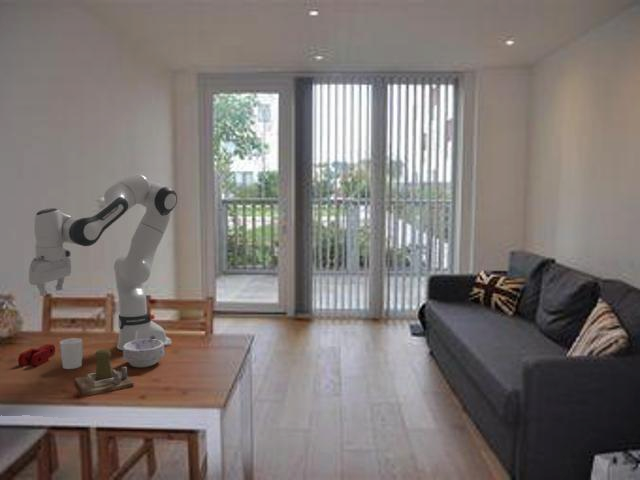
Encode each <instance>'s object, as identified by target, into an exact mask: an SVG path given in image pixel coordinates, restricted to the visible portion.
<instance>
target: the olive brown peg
mask: <svg viewBox="0 0 640 480" xmlns="http://www.w3.org/2000/svg"><path fill="white" fill-rule="evenodd" d="M94 355H95V356H94V357H95V359H96V370H95V373H96V377H95V381H99V380H104V379H110V378H113V374H112V370H113V369H112V366H111V365H112V364H111V357H112V351H111V350H110V349H107V348H104V349H99V350H97V351H96V352H95V354H94Z"/></svg>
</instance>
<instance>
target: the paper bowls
mask: <svg viewBox="0 0 640 480" xmlns="http://www.w3.org/2000/svg"><path fill="white" fill-rule="evenodd" d="M122 354H123V355H122V356H123V358H122V359H123V361H125V362H127V363H128V364H130V366H132V367H134V368H149V367H152V366H154V365H156V364H157V363H158V362H159V360H160V359H161V358H162V357H164V356H165V346H164V343H163V342H162V341H161V340H157V339H140V340H135V341H131V342H128V343H126V344H125V345H124V346H123V350H122Z"/></svg>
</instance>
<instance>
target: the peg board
mask: <svg viewBox="0 0 640 480" xmlns="http://www.w3.org/2000/svg"><path fill="white" fill-rule="evenodd" d="M112 374H113V378H110V379H104V380H99V381H95V377H96V372H94V373H87V374H86V376H80V377H76V378H75V383H76V385H77V386H78V388H79V390H80V391H81V393H82V394H83V396H84V397H86V396H92V395H97V393H98V394H102V393H101V392H103V393H106V391H108V392H111V390H113V391H117V390H116V389H118V390H121V388H123V389H126V387H128V388H132V387H131V386H133V387H134V386H135V385H134V382H133V380H131V379H130V377H129V375H128V367H127V366H122V367H121V369H119V370H116V369H112Z"/></svg>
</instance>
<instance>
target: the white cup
mask: <svg viewBox="0 0 640 480" xmlns="http://www.w3.org/2000/svg"><path fill="white" fill-rule="evenodd" d="M59 348H60V357H61V361H62V369H65V370H74V369H78V368H81V367H82V365H83V363H82V362H83V339H82V338H80V337H79V338H78V337H71V338H66V339H63V340H61V341H60V342H59Z"/></svg>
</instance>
